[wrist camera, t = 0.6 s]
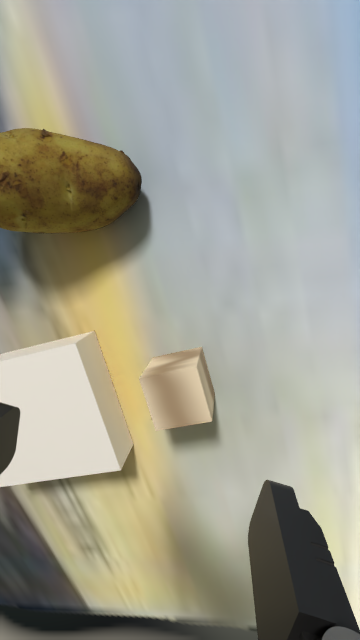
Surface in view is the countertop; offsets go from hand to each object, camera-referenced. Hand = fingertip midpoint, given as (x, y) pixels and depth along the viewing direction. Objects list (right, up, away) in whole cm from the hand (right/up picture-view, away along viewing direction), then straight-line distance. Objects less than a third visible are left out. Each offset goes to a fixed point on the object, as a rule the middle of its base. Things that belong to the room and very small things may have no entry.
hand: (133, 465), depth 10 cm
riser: (-12, -4, +24) cm, 27 cm away
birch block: (+2, -1, +21) cm, 21 cm away
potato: (-8, +16, +18) cm, 26 cm away
